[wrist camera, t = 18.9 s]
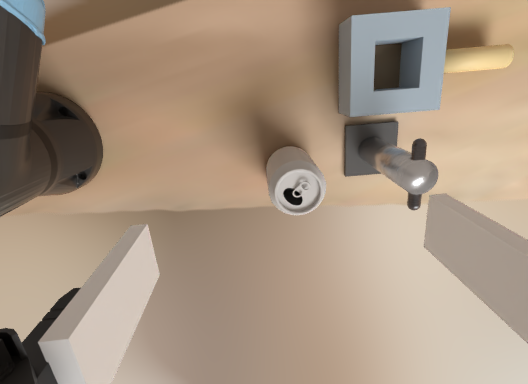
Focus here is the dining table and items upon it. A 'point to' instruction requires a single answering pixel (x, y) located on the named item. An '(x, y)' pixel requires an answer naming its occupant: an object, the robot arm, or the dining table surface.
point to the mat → (357, 136)
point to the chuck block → (405, 61)
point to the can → (294, 181)
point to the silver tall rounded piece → (402, 166)
